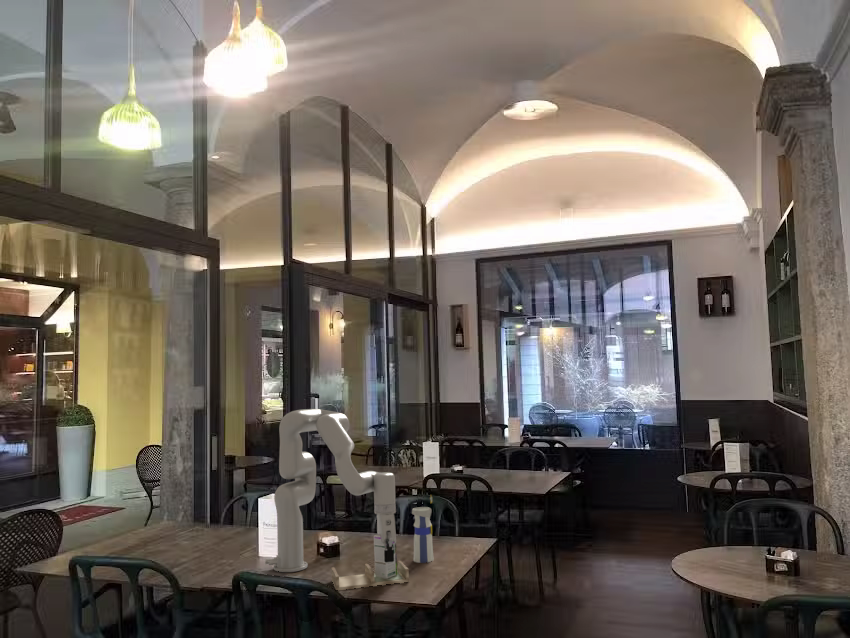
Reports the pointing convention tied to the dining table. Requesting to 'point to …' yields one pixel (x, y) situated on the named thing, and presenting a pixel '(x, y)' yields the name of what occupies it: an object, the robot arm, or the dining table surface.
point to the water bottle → (423, 534)
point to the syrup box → (381, 566)
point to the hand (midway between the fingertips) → (386, 558)
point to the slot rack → (368, 578)
